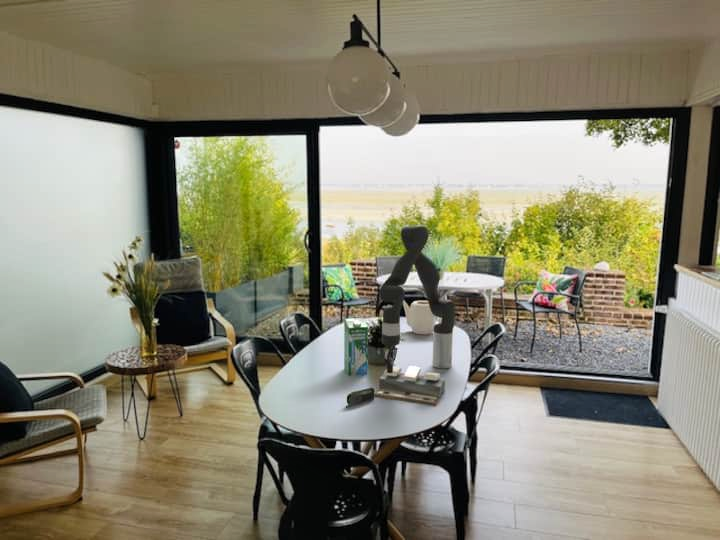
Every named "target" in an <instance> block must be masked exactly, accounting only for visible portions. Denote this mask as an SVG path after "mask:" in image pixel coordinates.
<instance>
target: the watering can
mask: <svg viewBox="0 0 720 540" xmlns="http://www.w3.org/2000/svg"><path fill="white" fill-rule="evenodd" d="M402 306H403V309H404V312H405V313H404V314H405V318H406V324H407V325H408V326H409V328H411V330H412V332H413V333H415V334H417V335H423V336H424V335H431V334H432V333H433V332H434V325H436V323H437V322H436V321H437V318H438V317H437V316H434V315H433V314H432V312H431V310H430V307H429V303H428V300H414V301H413V302H412V303H411V304H410V306H409V305H408V303H407V302H406V300H405V299H404V300H403V303H402ZM441 322H442V318H440V317H439V321H438V323H437V324H440V323H441Z"/></svg>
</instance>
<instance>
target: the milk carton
mask: <svg viewBox="0 0 720 540" xmlns="http://www.w3.org/2000/svg"><path fill="white" fill-rule="evenodd" d="M343 320H344V321H343V322H344V327H343V328H344V329H343V331H344V332H343V334H344V337H343V339H344V340H343V342H344V345H343V346H344V347H343V348H344V351H343V352H344V353H343V354H344V358H343V360H344V361H343V366H344V367H343V368H344V371H345V373H346V374H347V375H348V376H349V377H350V376H358V375H359V376H361V375H368V371H369V370H368V369H369V367H368V364H369V363H368V360H369V358H368V357H369V356H368V355H369V354H368V353H369V350H368V349H369V344H368V343H369V341H368V340H369V336H368V335H369V327H368V325H367V323H366V321H365V319H364V318H363V317H355V318H354V317H351V318H344V319H343Z"/></svg>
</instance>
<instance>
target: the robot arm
mask: <svg viewBox="0 0 720 540" xmlns="http://www.w3.org/2000/svg"><path fill="white" fill-rule="evenodd" d="M400 238H401V241H402V244H403V246H404V248H405V250H406V252H405V253H404V254H403V255H402V256H401V257H400V258H399V259H398V260H397V261H396V263H394V266H393V269H392V270H391V274H390V275H389V277H387V279H386V280H385V281H384V283H383V284H381V287H380V289H379V293H378V297H379V299H380V300H381V301H382V302H386V303H393V304H392V306H387V307H385V308H384V309H383V311H382V325H381V344H383V345H384V346H385V347H384V354H383V355H382V358H383V362H384V364H385V365H386V369H387V373H392V372H393V366H394V364H395V361H396V358H397V353H398V347H396V346H398V345H399V344H400V343H401V323H400V321H401V320H400V319H401V311H402V306H403V300H404V301H405V298H406V297H405V294H406V292H405V289H404V288H403V287H402V286H404V285H405V284H406V282H407V279H408V278H409V275H410V272H411V270H412V268H413V266H414V268H415V271H416V272H417V276H418V278H419V281H420V283H421V285H422V288H423V291H424V293H425V296H426V300H427V301H428V303H429V307H430V310H431V312H432V314H433V315H434V316H437V317H436V318H439V319H440V318H442V322H441V323H440V324H438V323H437V324H436V323H435V325H434V331H433V332H432V333H433V335H432V337H433V338H432V339H433V341H432V366H433V367H434V368H437V369H449V368H452V361H453V359H452V358H453V337H454V336H453V335H454V333H453V331H454V327H455V323H456V322H455V321H456V303H455V302H454V301H453V300H451V299H446V298H442V297H441V295H440V294H439V291H438V287H439V284H440V281H441V280H440V277H441V276H440V273H439V271H438V268H437V265H436V263H435V262H434V261H433V260H432V259H431V258H430V257H428V255H426V254H425V253H424V252H423V250H424V248H425V246H426V244H427V243H428V239H429V231H428V228H427V227H426V226H425V225H422V224H421V225H407V226H404V227H403V228H402V229H401V231H400Z"/></svg>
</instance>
